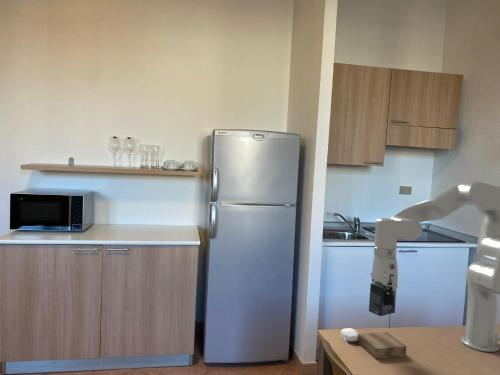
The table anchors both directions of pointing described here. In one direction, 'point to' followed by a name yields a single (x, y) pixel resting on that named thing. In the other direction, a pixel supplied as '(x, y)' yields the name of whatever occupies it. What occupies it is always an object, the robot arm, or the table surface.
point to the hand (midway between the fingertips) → (382, 300)
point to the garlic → (349, 335)
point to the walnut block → (381, 345)
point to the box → (380, 300)
